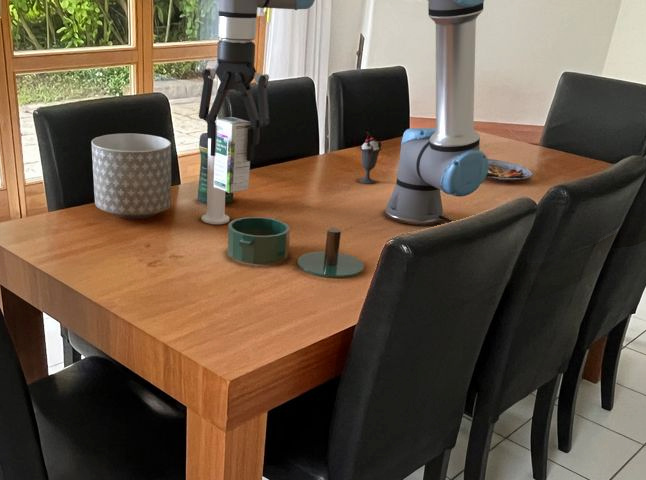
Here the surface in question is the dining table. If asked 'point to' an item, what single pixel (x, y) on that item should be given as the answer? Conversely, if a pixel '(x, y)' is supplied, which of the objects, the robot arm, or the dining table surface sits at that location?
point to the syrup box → (231, 155)
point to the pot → (258, 240)
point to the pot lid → (331, 260)
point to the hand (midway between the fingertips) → (232, 156)
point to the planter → (132, 174)
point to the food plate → (507, 171)
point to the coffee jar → (206, 172)
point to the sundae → (369, 157)
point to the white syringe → (214, 196)
